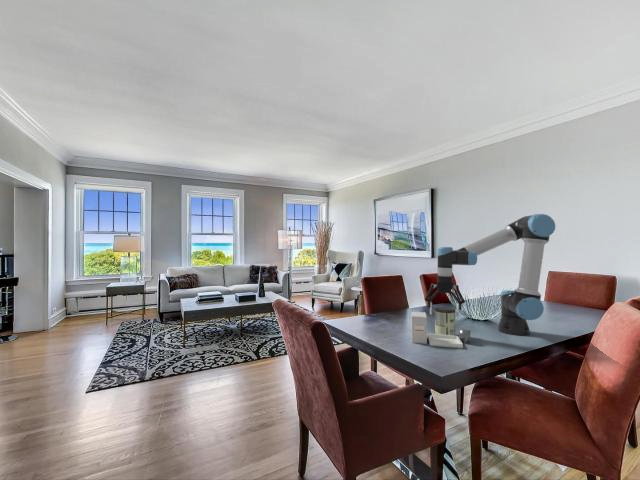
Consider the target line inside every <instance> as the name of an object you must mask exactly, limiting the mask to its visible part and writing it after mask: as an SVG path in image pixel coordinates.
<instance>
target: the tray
mask: <svg viewBox="0 0 640 480" xmlns="http://www.w3.org/2000/svg"><path fill="white" fill-rule="evenodd" d="M427 341H428V344H429V347H434V348H435V347H437V348H438V347H439V348H451V349H464V344H463V343H462V342H461V340H460V339H459V335H456V334H455V335H441V334H435V333H427Z"/></svg>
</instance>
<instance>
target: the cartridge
mask: <svg viewBox="0 0 640 480" xmlns="http://www.w3.org/2000/svg"><path fill="white" fill-rule="evenodd" d="M458 330H459V334H458V337H459V339H460V340H461V342H462V344H463V345H469V344H471V330H470V329H468V328H467V329H466V328H460V329H458Z"/></svg>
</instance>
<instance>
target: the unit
mask: <svg viewBox="0 0 640 480" xmlns="http://www.w3.org/2000/svg"><path fill="white" fill-rule="evenodd" d="M410 317H411V318H410V319H411V321H410V323H411V329H410V331H411V332H410V333H411V344H413V343H414V344H425V345H427V344H428V323H427V322H428V320H427V319H428V317H427V313H426V312H425V311H424V312H420V311H411V315H410Z"/></svg>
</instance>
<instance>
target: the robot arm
mask: <svg viewBox="0 0 640 480" xmlns="http://www.w3.org/2000/svg"><path fill="white" fill-rule="evenodd" d="M555 230H556V222H555V220H554V219H553V218H552V217H551V216H550V215H547V214H544V213H536V214H535V213H534V214H532V215H531V214H530V215H526V216H523V217H520V218H519V219H516V220H515V221H513V222H511V223H509V224H507V225H505V227H504V228H503V229H500V230H499V231H496V232H494V233H492V234H489V235H488V236H485V237H483V238H481V239H479V240H476V241H474V242H472V243H470V244H468V245H465V246H463V247H461V248H458V249H455V250H454V249H453V247H452V246H439V247H438V249H437V256H436V257H437V269H436V270H437V277H436V278H437V279H436V280H437V281H436V284H434V283H431V284H430V287H429V290H427V291H428V292H427V294H426V296H425V297H424V301H425V302H427V309H429V314H430V315H433V302H432V301H433V300H434V299H435V298H436V297H437V295H438V294H441V293H442V294H444V293H445V294H450V295H451V296H452V297H453V298H454V299H455V300H456V302H457V303H456V316H457V317H460V311H461V310H462V304H465V303H466V301H465V299H464V297H463V294H462V292H461V291H460V287H459V285H458V284H455V285H453V266H457V265H458V266H475V265H476V264H477V263H478V256H480V255H482V254H485V253H487V252H489V251H492V250H493V249H495V248H497V247H499V246H503V245H504V244H507V243H509V242H511V241H512V242H513V241H514V242H516V241H518V240H522V241H523V243H524V246H523V252H522V259H521V266H520V274H519V280H518V287H517V288H516V289H514V290H502V291H501V294H500V297H501V298H500V300H501V301H500V304H501V307H500V308H501V310H500V311H501V316H500V319H499V322H498V324H497V325H498V326H497V330H498V331H499V332H501V333H502V334H503V333H505V334H509V335H513V336H528V335H530V333H531V331H530V327H529V325H528V321H534V320H535V321H536V320H537V319H539V318H540V317H542V315H543V313H544V310H545V307H544V304H543V302H541V300H542V299H541V298H542V294H541V293H540V292H539V287H540V278H541V273H542V271H541V270H542V267H543V266H542V264H543V259H544V258H543V257H544V250H545V245H546V244H547V243H549V241H550V236H551V235H552V234H553V233H554V232H555ZM435 288H437V290H436V291H435V292H434V293H433V294H432V295H431V293H432V292H433V290H434V289H435ZM452 289H454V290H455V291H456V293H457V295H458V296H459V298H460V299H459V298H458V297H457V296H456V295H455V293H454V292H453V291H452ZM527 320H528V321H527Z"/></svg>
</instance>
